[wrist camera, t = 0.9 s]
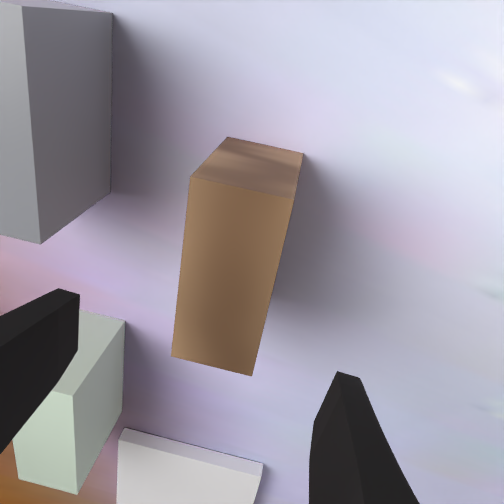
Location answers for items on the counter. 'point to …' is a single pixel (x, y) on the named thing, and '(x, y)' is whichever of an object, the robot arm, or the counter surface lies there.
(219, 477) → the white mat
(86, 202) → the grey brick
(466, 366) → the counter surface
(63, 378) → the sage brick
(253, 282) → the walnut brick
